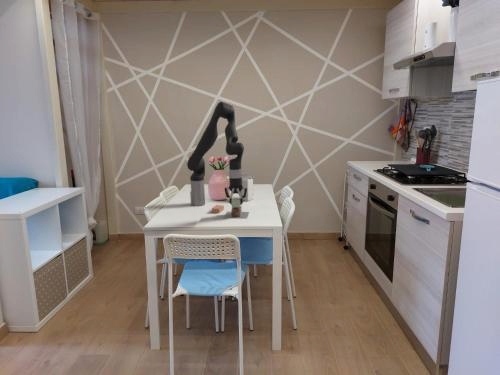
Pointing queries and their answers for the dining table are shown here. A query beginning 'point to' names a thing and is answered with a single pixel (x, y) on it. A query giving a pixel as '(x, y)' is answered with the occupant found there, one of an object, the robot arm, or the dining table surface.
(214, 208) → the terracotta brick
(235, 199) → the sage brick
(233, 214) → the walnut brick
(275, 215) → the dining table surface
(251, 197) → the milk carton
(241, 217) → the baseplate
